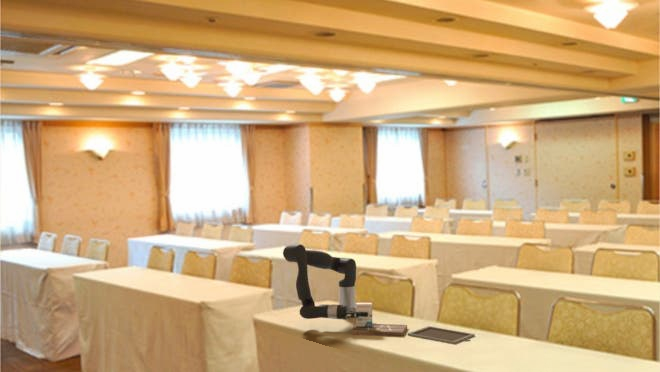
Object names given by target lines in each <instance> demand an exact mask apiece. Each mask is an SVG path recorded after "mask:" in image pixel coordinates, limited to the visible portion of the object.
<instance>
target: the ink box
mask: <svg viewBox="0 0 660 372" xmlns="http://www.w3.org/2000/svg"><path fill="white" fill-rule="evenodd" d="M355 308H356V312H360V313H361V312H368V317H361V316H360V317H358V318H355V326H372V324H373V303H372V302H355Z"/></svg>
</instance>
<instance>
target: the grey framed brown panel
mask: <svg viewBox="0 0 660 372" xmlns="http://www.w3.org/2000/svg"><path fill="white" fill-rule="evenodd" d="M407 336H408V337H414V338H419V339H424V340H429V339H430V340H429V341H434V340H435V342H439V341H441V342H440V343H445V342H446V344H450V343H451V344H452V345H457V344H458V343H462V342H470V341H471V338H473V337H475V336H476V335H475V333H469V332H464V331H459V330H452V329H447V328H442V327H435V326H425V327H423V328H420V329H416V330H413V331H411V332H408V333H407Z"/></svg>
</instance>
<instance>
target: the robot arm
mask: <svg viewBox="0 0 660 372" xmlns="http://www.w3.org/2000/svg"><path fill="white" fill-rule="evenodd" d="M282 255H283V258H284V259H285V260H286V262H289V263H296V264H297V267H298V268H297V269H298V271H297V277H296V281H295V289H296V292H297V293H296V294H297V298H298V300H300V302H301V304H302V306H301V307H300V309H299V315H300V316H301V318H302V319H305V320H306V319H307V320H310V319H321V318H322V319H331V320H347V319H354V318H355V319H356V318H358V317H360V316H361V317H368V312H361V313H360V312H356V288H355V287H356V281H357V263H356V260H355V259H353V258H349V257H336V256H332V255H331V254H329V253H327V252H325V251H322V250H321V251H320V250H314V249H313V250H312V249H306V247H305V246H304V245H303V244H301V243H300V244H297V243H295V244H289V245H287V246H285V247H284V248H283V251H282ZM308 266H310V267H313V268H317V269H321V270H331V271H333V272H336V273H339V274H341V275H344V278H343V279H340V280H339V281H338V302H339V303H338V304H335V303H334V304H319V305H316V304H315V301H314V299H313V297H312V294H311V288H310V283H309V274H308Z"/></svg>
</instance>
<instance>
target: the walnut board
mask: <svg viewBox="0 0 660 372" xmlns="http://www.w3.org/2000/svg"><path fill="white" fill-rule="evenodd" d="M407 330H408V325H407V324H394V323H393V324H391V323H372V326H356V325H355V326H354V327H353V329H352V330H351V334H352V335H362V336H382V337H383V336H387V337H404V335H405V333H406V332H407Z"/></svg>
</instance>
